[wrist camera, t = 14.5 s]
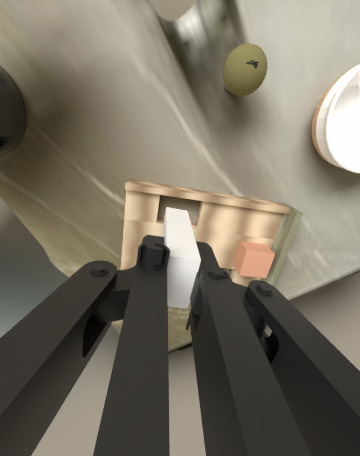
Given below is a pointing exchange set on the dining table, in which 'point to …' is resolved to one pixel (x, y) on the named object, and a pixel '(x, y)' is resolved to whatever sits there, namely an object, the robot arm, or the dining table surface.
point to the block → (253, 259)
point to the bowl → (339, 122)
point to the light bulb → (245, 69)
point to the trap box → (212, 224)
